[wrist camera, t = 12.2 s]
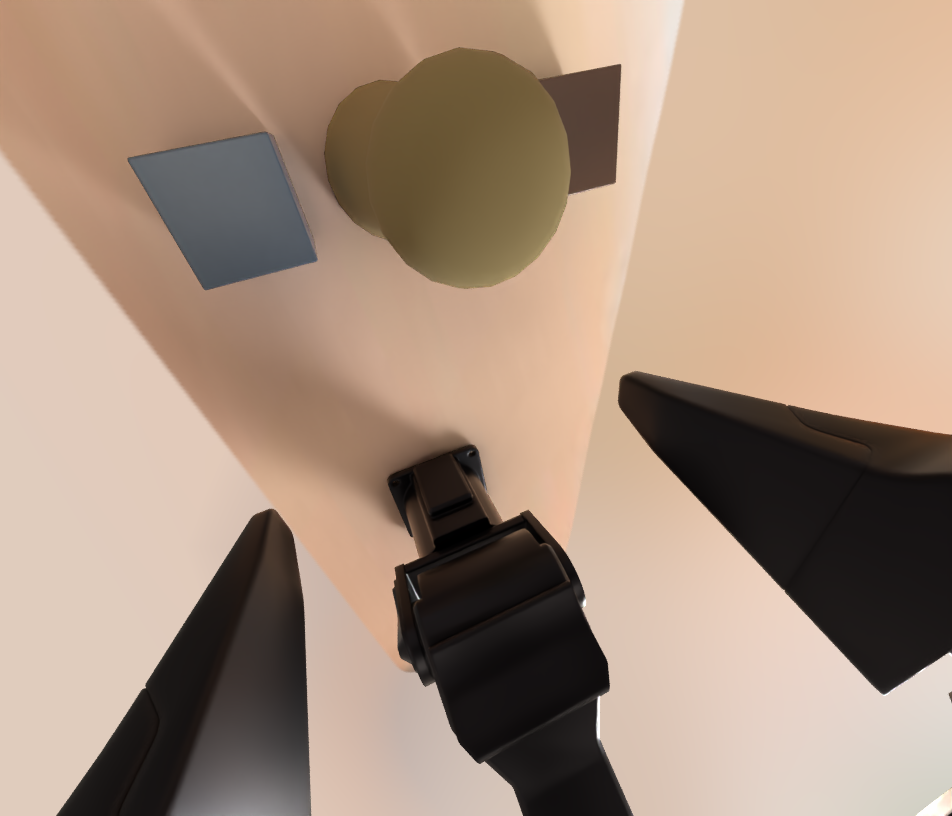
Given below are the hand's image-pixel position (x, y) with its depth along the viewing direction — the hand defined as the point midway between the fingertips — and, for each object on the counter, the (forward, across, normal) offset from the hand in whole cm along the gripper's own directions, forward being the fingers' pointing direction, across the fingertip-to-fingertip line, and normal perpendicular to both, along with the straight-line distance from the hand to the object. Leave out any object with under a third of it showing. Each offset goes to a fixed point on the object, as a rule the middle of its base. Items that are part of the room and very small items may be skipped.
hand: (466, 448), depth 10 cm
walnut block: (+13, -9, -5) cm, 17 cm away
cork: (+13, -2, -5) cm, 14 cm away
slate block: (+13, +4, -5) cm, 15 cm away
